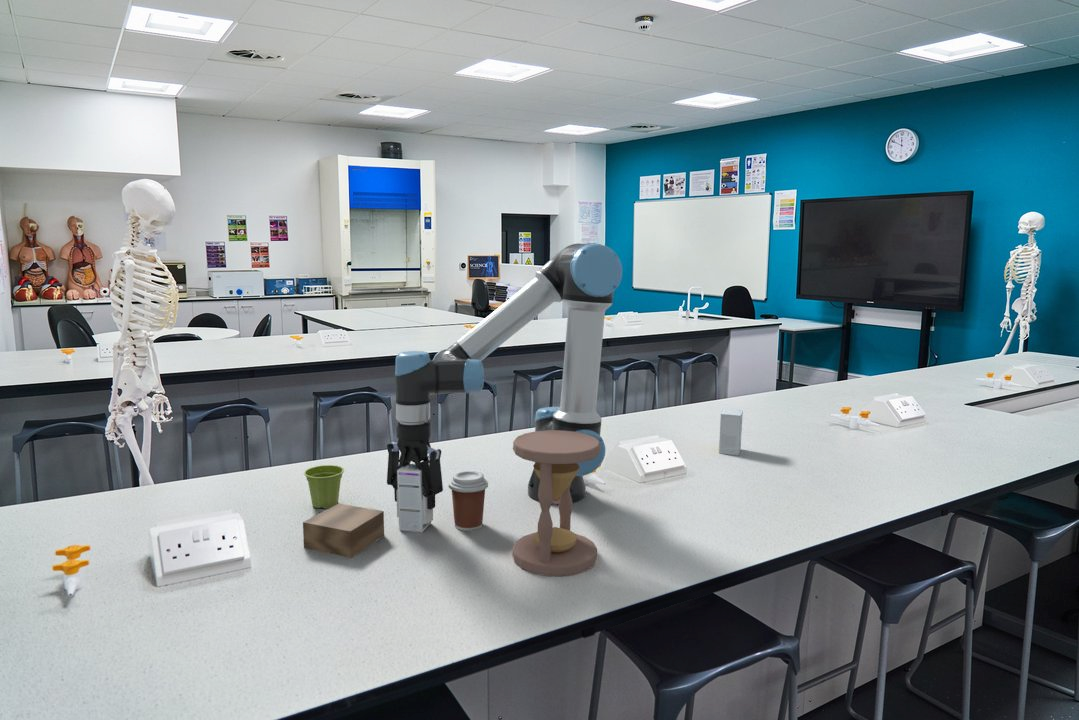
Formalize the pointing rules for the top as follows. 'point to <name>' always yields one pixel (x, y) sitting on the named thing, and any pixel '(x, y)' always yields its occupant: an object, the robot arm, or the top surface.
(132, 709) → the top surface
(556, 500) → the hourglass
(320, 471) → the plant pot
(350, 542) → the base block
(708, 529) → the top surface
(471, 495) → the coffee cup
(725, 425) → the small box
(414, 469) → the syrup box
